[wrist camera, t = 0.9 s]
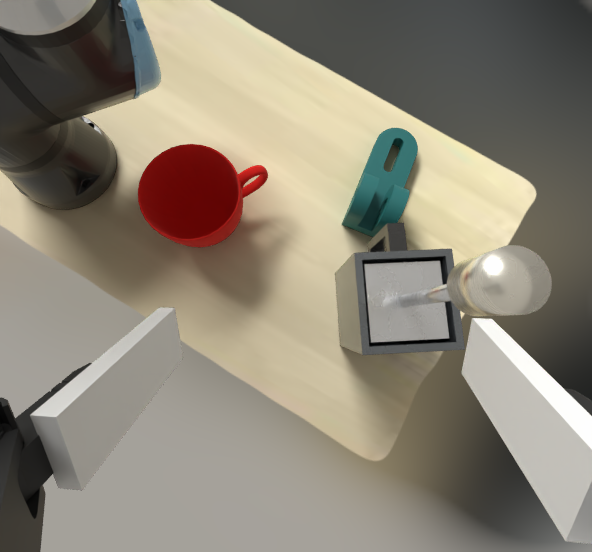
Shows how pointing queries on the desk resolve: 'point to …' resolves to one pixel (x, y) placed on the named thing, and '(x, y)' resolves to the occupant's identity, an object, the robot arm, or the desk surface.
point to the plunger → (452, 292)
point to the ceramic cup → (195, 194)
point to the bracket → (382, 184)
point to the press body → (354, 295)
